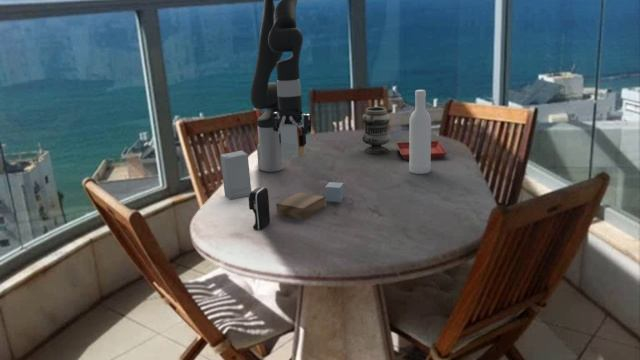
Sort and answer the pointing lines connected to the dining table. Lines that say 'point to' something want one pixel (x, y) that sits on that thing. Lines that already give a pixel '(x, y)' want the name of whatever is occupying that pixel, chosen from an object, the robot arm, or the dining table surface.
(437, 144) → the plant saucer
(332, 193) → the blue-grey cube
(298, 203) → the walnut slab
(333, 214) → the dining table surface
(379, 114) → the apothecary jar
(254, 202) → the battery charger
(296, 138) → the small box
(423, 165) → the bottle
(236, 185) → the skincare box
